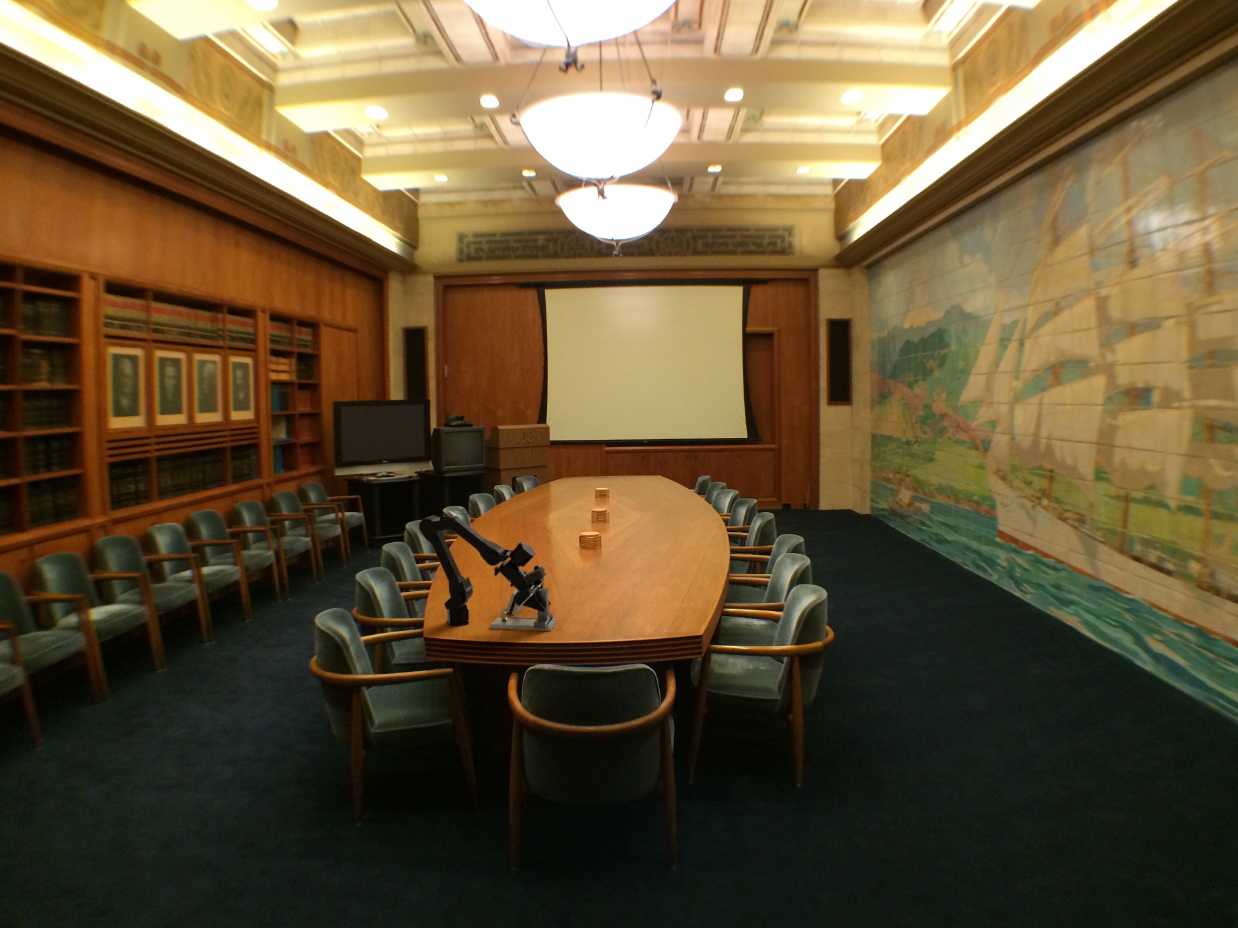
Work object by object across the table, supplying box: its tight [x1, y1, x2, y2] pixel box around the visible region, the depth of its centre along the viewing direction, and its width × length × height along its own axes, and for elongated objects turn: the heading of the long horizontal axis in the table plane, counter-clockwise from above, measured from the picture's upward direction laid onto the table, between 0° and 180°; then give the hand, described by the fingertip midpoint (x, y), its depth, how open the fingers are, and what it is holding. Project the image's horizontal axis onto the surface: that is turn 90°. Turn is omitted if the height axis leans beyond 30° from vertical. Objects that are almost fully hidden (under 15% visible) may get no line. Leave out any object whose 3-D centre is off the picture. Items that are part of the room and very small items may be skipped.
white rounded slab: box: [502, 588, 525, 616], centre depth 259 cm, size 17×5×10 cm, turn 168°
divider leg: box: [534, 587, 554, 629], centre depth 238 cm, size 4×10×12 cm, turn 172°
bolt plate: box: [490, 611, 557, 632], centre depth 239 cm, size 21×8×4 cm, turn 82°
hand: (547, 607), depth 237 cm, fingers open, 7 cm apart
